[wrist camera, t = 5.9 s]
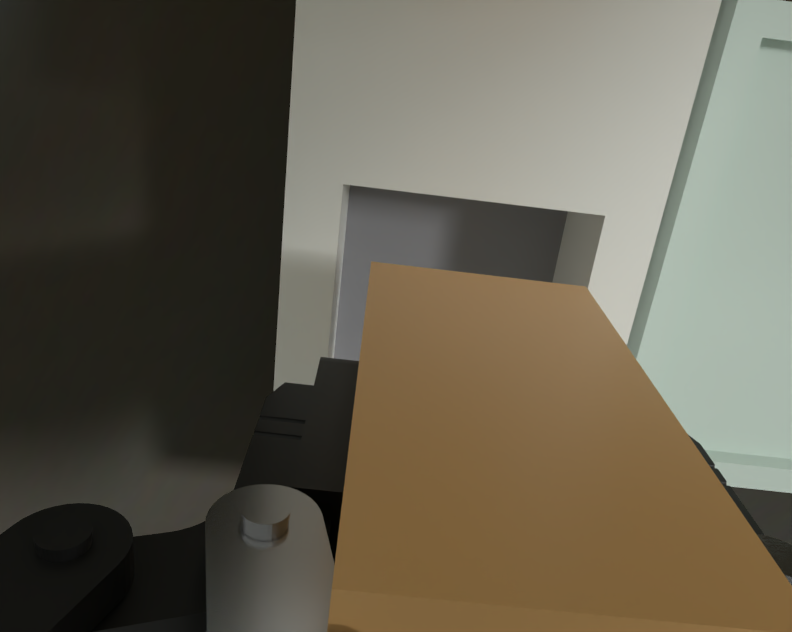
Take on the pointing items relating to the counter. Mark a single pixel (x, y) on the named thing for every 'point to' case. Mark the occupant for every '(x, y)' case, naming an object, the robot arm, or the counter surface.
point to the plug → (528, 476)
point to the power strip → (478, 150)
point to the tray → (730, 256)
